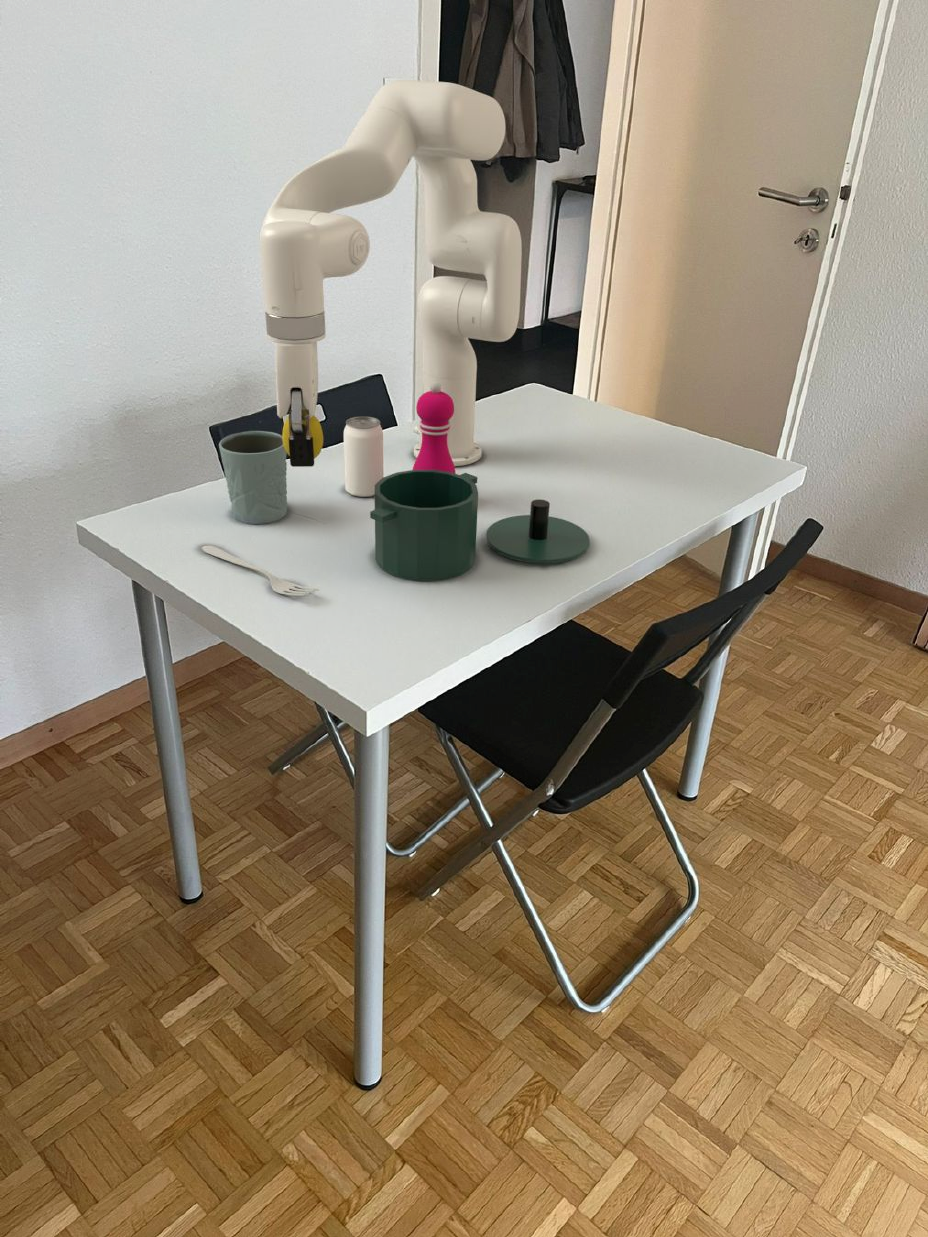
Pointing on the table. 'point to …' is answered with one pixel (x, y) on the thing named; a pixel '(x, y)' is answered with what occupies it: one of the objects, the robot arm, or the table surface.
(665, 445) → the table surface
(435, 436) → the pepper mill
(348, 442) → the can
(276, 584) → the fork
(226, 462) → the grey-green cup
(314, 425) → the lemon
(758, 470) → the table surface
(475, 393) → the robot arm
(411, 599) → the table surface
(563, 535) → the lid
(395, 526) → the pot
